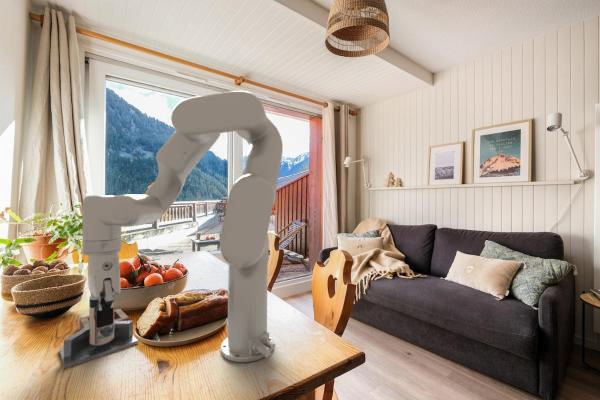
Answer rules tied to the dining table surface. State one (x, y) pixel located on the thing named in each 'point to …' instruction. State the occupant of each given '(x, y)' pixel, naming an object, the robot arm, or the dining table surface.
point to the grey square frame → (118, 316)
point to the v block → (83, 351)
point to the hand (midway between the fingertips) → (102, 321)
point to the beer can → (103, 333)
